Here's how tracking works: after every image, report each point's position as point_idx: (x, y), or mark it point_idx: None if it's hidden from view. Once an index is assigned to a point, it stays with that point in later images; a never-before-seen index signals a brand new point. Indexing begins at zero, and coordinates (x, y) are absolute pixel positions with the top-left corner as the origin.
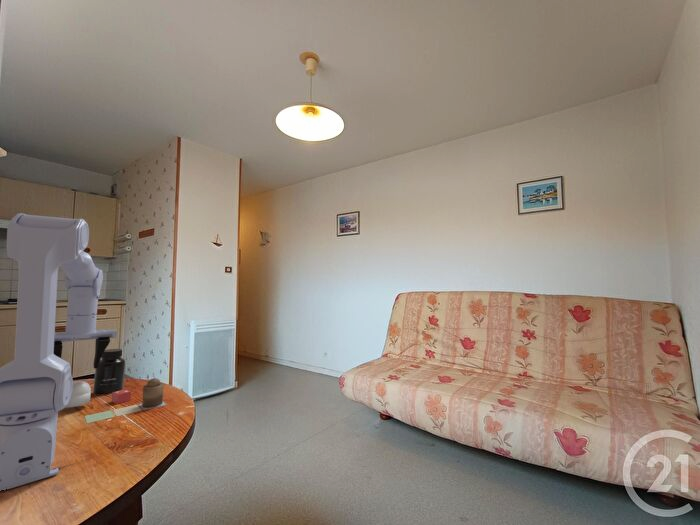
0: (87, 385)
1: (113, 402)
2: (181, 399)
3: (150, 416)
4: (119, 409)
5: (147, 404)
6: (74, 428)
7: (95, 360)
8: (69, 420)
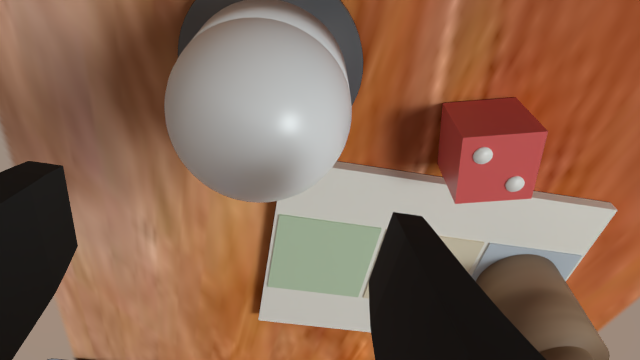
0: (316, 181)
1: (444, 132)
2: (637, 277)
3: None
4: None
5: None
6: (234, 263)
7: (386, 358)
8: None
